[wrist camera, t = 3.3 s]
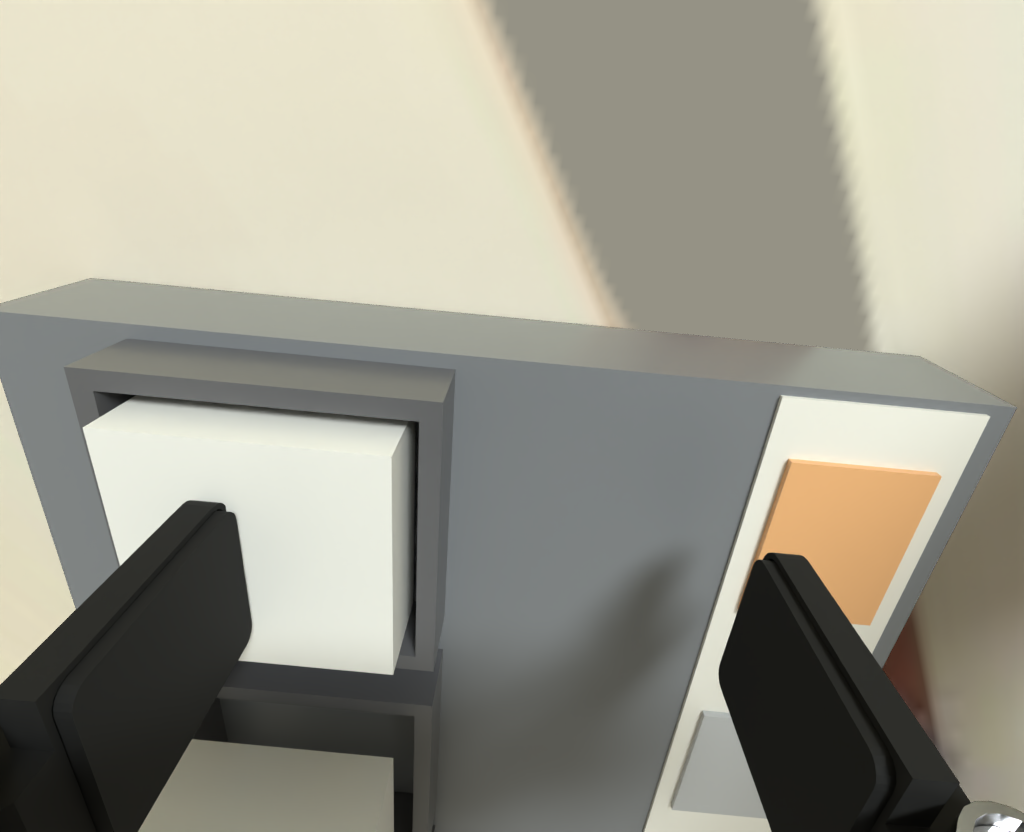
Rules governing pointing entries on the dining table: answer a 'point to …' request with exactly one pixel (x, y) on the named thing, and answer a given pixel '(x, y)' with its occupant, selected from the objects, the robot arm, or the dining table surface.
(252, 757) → the switch
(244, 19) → the dining table surface
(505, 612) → the switch box
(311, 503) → the switch
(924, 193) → the dining table surface
